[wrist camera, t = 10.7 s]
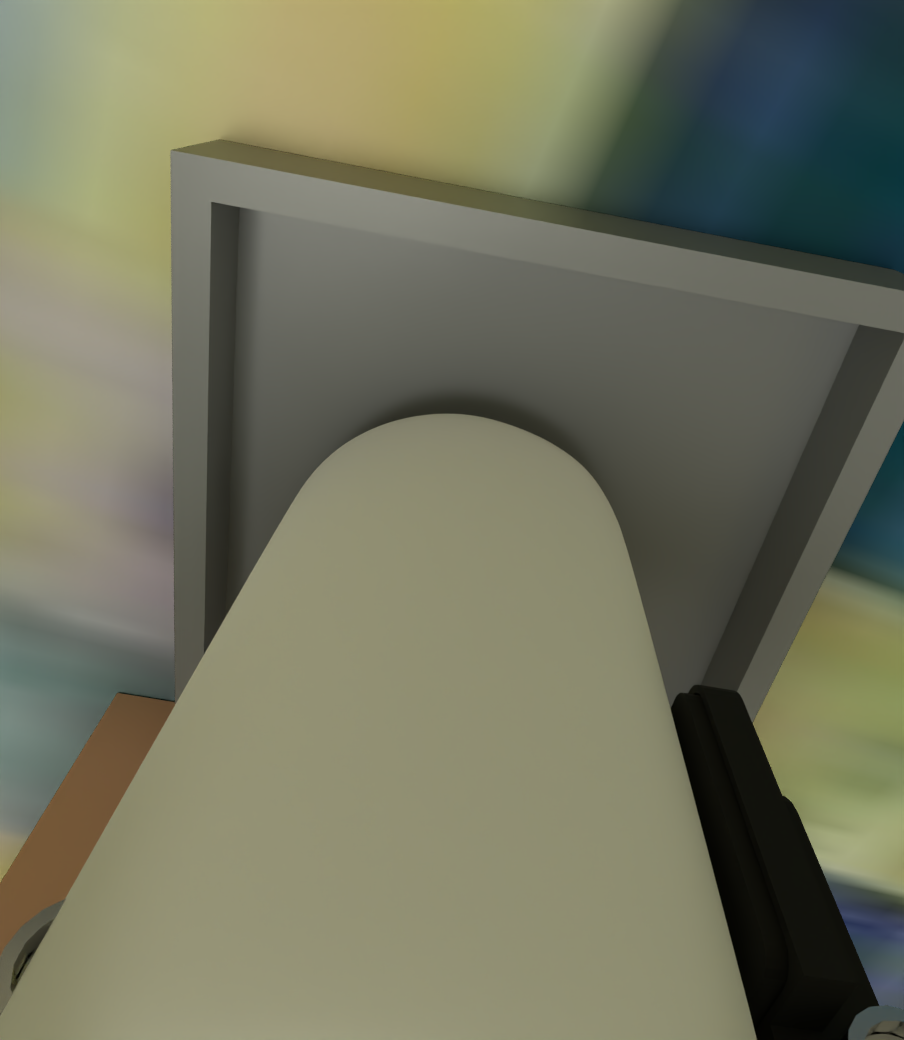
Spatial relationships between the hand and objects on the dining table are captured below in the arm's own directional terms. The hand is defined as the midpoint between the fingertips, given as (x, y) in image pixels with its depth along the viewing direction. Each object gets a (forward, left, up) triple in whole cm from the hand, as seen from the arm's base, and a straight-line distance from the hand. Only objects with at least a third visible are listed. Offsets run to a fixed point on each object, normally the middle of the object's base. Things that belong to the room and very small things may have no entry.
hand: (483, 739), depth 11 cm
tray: (0, 0, -7) cm, 7 cm away
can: (0, +1, -5) cm, 5 cm away
